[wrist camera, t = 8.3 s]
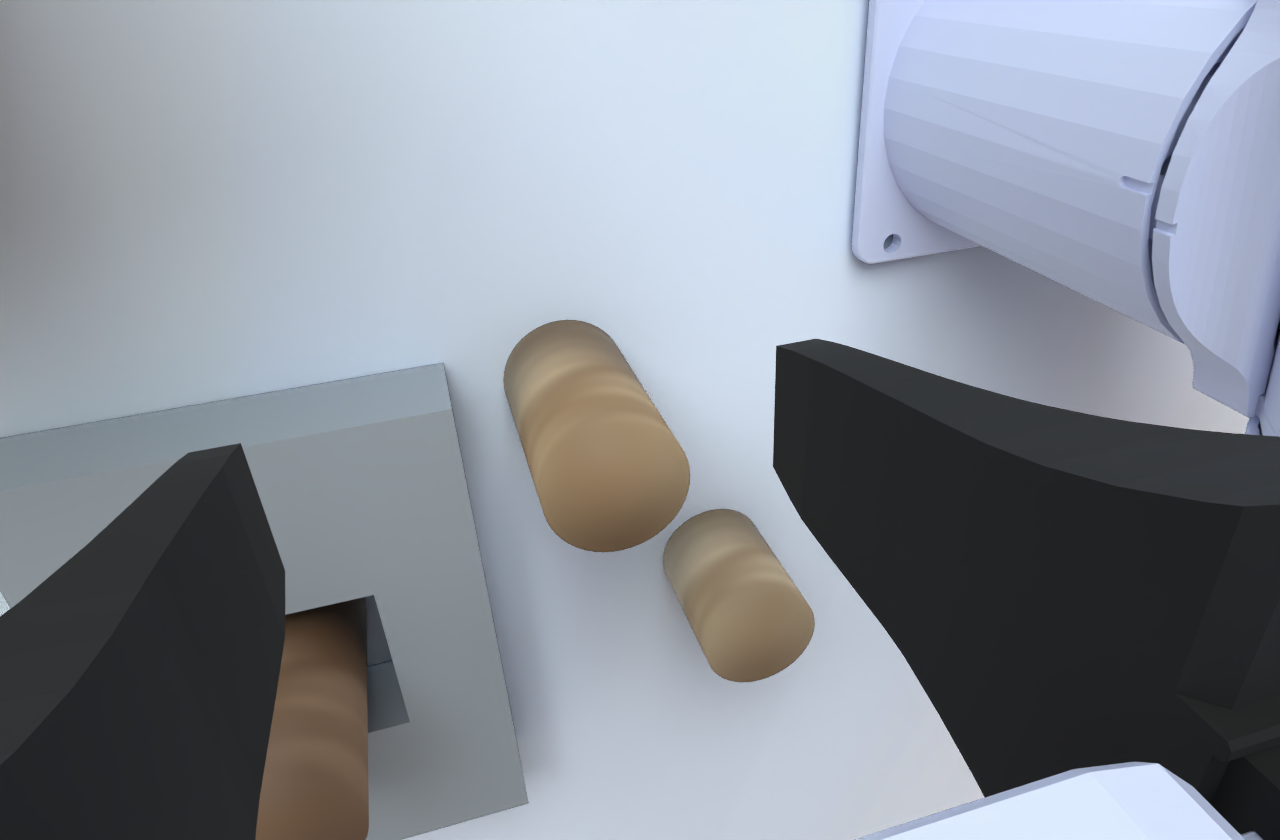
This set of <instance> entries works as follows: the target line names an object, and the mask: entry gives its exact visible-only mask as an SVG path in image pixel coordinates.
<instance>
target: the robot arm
mask: <svg viewBox="0 0 1280 840" xmlns="http://www.w3.org/2000/svg"><path fill="white" fill-rule="evenodd" d="M892 234H893V237H894V238H893V241H892V243H891V244H890V246H889V247H887V248H885V249H884V247H883V244H884V241H885V239H886V238H887V237H888V236H889V235H892ZM980 246H983V247H985V248H987V249H990V250H992V251H994V252H996V253H998V254H1000V255H1002V256H1004V257H1006V258H1008V259H1010V260H1012V261H1014V262H1016V263H1018V264H1020V265H1023V266H1025V267H1027V268H1029V269H1031V270H1033V271H1035V272H1037V273H1039V274H1041V275H1043V276H1045V277H1047V278H1049V279H1051V280H1053V281H1056V282H1058V283H1060V284H1062V285H1064V286H1066V287H1068V288H1070V289H1072V290H1074V291H1076V292H1078V293H1080V294H1082V295H1084V296H1086V297H1089V298H1091V299H1093V300H1095V301H1097V302H1099V303H1101V304H1103V305H1105V306H1107V307H1109V308H1111V309H1113V310H1115V311H1117V312H1119V313H1121V314H1124V315H1126V316H1128V317H1130V318H1132V319H1134V320H1136V321H1138V322H1140V323H1142V324H1144V325H1146V326H1148V327H1150V328H1152V329H1154V330H1157V331H1159V332H1161V333H1163V334H1165V335H1167V336H1169V337H1171V338H1173V339H1175V340H1177V341H1179V342H1181V343H1183V344H1185V345H1186V346H1187V347H1188V348H1189V350H1190V353H1191V356H1192V359H1193V365H1194V375H1193V388H1194V389H1196V390H1198V391H1200V392H1201V393H1203V394H1205V395H1207V396H1209V397H1211V398H1213V399H1215V400H1216V401H1218V402H1220V403H1222V404H1224V405H1226V406H1228V407H1230V408H1231V409H1233V410H1235V411H1237V412H1239V413H1241V414H1243V415H1245V416H1246V417H1248V418H1250V420H1249V422H1248V424H1247V427H1246V432H1245V434H1233V433H1222V432H1211V431H1201V430H1191V429H1182V428H1174V427H1167V426H1159V425H1152V424H1144V423H1137V422H1129V421H1123V420H1117V419H1111V418H1105V417H1099V416H1094V415H1089V414H1084V413H1079V412H1074V411H1069V410H1064V409H1060V408H1055V407H1050V406H1045V405H1041V404H1036V403H1032V402H1028V401H1024V400H1020V399H1016V398H1012V397H1009V396H1005V395H1002V394H998V393H994V392H991V391H987V390H984V389H980V388H976V387H973V386H969V385H966V384H963V383H960V382H956V381H953V380H950V379H947V378H944V377H940V376H937V375H934V374H931V373H928V372H925V371H922V370H919V369H916V368H913V367H910V366H907V365H904V364H901V363H898V362H895V361H892V360H889V359H886V358H883V357H880V356H877V355H874V354H871V353H868V352H865V351H862V350H858V349H855V348H852V347H849V346H845V345H842V344H838V343H834V342H830V341H825V340H820V339H812V340H807V341H801V342H796V343H790V344H785V345H779V346H776V381H775V417H774V453H773V467H774V469H775V471H776V473H777V475H778V477H779V479H780V481H781V483H782V485H783V486H784V488H785V490H786V492H787V494H788V496H789V498H790V500H791V501H792V503H793V505H794V507H795V508H796V510H797V512H798V514H799V515H800V517H801V519H802V520H803V522H804V523H805V524H806V526H807V527H808V529H809V530H810V531H811V533H812V534H813V535H814V537H815V538H816V539H817V541H818V542H819V543H820V545H821V546H822V547H823V549H824V550H825V551H826V553H827V554H828V555H829V557H830V558H831V559H832V561H833V562H834V563H835V564H836V566H837V567H838V568H839V570H840V571H841V572H842V574H843V575H844V576H845V577H846V579H847V580H848V581H849V583H850V584H851V585H852V587H853V588H854V589H855V590H856V592H857V593H858V594H859V596H860V597H861V598H862V600H863V601H864V602H865V603H866V605H867V606H868V607H869V609H870V610H871V611H872V613H873V614H874V615H875V616H876V618H877V619H878V620H879V622H880V623H881V624H882V626H883V627H884V628H885V630H886V631H887V632H888V634H889V635H890V637H891V638H892V640H893V641H894V642H895V644H896V645H897V647H898V648H899V650H900V651H901V653H902V654H903V655H904V657H905V659H906V660H907V662H908V664H909V665H910V667H911V669H912V670H913V672H914V674H915V675H916V677H917V679H918V680H919V682H920V684H921V685H922V687H923V689H924V690H925V692H926V694H927V695H928V697H929V699H930V700H931V702H932V704H933V705H934V707H935V709H936V710H937V712H938V714H939V715H940V717H941V719H942V721H943V722H944V724H945V726H946V728H947V730H948V731H949V733H950V735H951V737H952V738H953V740H954V742H955V744H956V746H957V747H958V749H959V751H960V753H961V754H962V756H963V758H964V760H965V762H966V763H967V765H968V767H969V769H970V770H971V772H972V774H973V776H974V778H975V780H976V782H977V783H978V785H979V787H980V789H981V791H982V793H983V795H984V797H985V798H982V799H979V800H976V801H973V802H970V803H967V804H964V805H961V806H958V807H954V808H951V809H948V810H945V811H942V812H939V813H936V814H933V815H930V816H927V817H923V818H920V819H917V820H914V821H911V822H908V823H905V824H902V825H899V826H895V827H892V828H889V829H886V830H883V831H880V832H877V833H874V834H871V835H867V836H864V837H861V838H858V839H855V840H1280V0H869V14H868V28H867V41H866V55H865V69H864V83H863V97H862V111H861V124H860V138H859V152H858V166H857V180H856V193H855V207H854V221H853V235H852V251H853V253H854V255H855V257H856V258H858V259H860V260H861V261H863V262H865V263H866V264H875V263H881V262H888V261H894V260H900V259H906V258H912V257H918V256H924V255H931V254H937V253H943V252H949V251H955V250H961V249H967V248H973V247H980ZM284 640H285V569H284V566H283V563H282V560H281V557H280V555H279V552H278V549H277V546H276V543H275V540H274V537H273V534H272V532H271V529H270V526H269V523H268V520H267V517H266V514H265V511H264V508H263V506H262V503H261V500H260V497H259V494H258V491H257V488H256V485H255V483H254V480H253V477H252V474H251V471H250V468H249V465H248V462H247V460H246V457H245V454H244V451H243V448H242V445H241V443H239V444H233V445H227V446H222V447H216V448H211V449H205V450H200V451H194V452H189V453H187V454H186V455H185V456H183V457H182V458H181V459H179V460H178V461H177V462H176V463H175V464H173V465H172V466H171V467H170V468H169V469H168V470H167V471H165V472H164V473H163V474H162V475H161V476H160V477H159V478H158V479H157V480H156V481H155V482H154V483H153V484H151V485H150V486H149V487H148V488H147V489H146V490H145V491H144V492H143V493H142V494H141V495H140V496H139V497H138V498H137V499H136V500H135V501H133V502H132V503H131V504H130V505H129V506H128V507H127V508H126V509H125V510H124V511H123V512H122V513H121V514H120V515H118V516H117V517H116V518H115V519H114V520H113V521H112V522H111V523H110V524H109V525H108V526H107V527H106V528H104V529H103V530H102V531H101V532H100V533H99V534H98V535H97V536H96V537H95V538H94V539H93V540H91V541H90V542H89V543H88V544H87V545H86V546H85V547H84V548H82V549H81V550H80V551H79V552H78V553H77V554H75V555H74V556H73V557H72V558H71V559H69V560H68V561H67V562H66V563H65V564H64V565H62V566H61V567H60V568H59V569H58V570H57V571H55V572H54V573H53V574H52V575H51V576H49V577H48V578H47V579H46V580H45V581H44V582H42V583H41V584H40V585H39V586H38V587H36V588H35V589H34V590H33V591H32V592H31V593H29V594H28V595H27V596H26V597H25V598H24V599H22V600H21V601H20V602H19V603H17V604H16V605H15V606H13V607H12V608H11V609H10V610H8V611H7V612H6V613H5V614H3V615H2V616H1V617H0V840H256V827H257V818H258V809H259V800H260V793H261V786H262V780H263V774H264V768H265V762H266V755H267V749H268V743H269V737H270V731H271V724H272V718H273V712H274V706H275V700H276V694H277V687H278V681H279V674H280V667H281V661H282V654H283V647H284Z"/></svg>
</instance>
